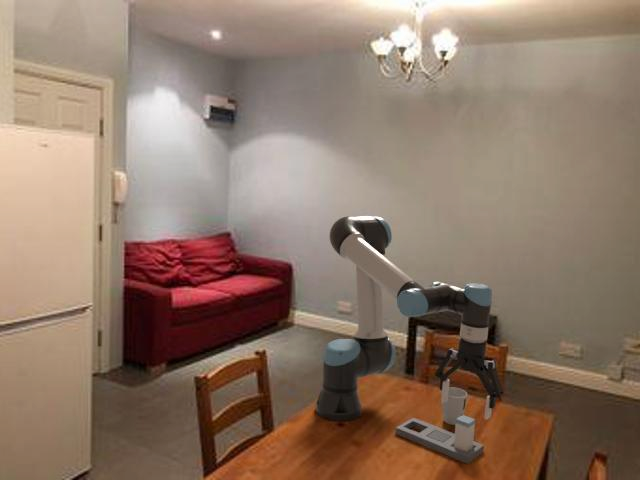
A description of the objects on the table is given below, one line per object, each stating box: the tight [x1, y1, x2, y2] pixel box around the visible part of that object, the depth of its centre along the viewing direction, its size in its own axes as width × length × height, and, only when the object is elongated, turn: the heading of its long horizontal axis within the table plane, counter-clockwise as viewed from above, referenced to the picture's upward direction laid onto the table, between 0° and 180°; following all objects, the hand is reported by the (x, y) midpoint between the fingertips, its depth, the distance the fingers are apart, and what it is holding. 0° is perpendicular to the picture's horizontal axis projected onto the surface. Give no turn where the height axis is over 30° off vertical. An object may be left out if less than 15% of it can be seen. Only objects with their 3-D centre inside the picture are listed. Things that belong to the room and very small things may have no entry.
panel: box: [395, 417, 485, 465], centre depth 165 cm, size 24×10×2 cm, turn 49°
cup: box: [441, 386, 468, 426], centre depth 179 cm, size 8×8×10 cm
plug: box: [454, 414, 476, 453], centre depth 159 cm, size 4×4×10 cm
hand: (465, 409), depth 158 cm, fingers open, 13 cm apart
